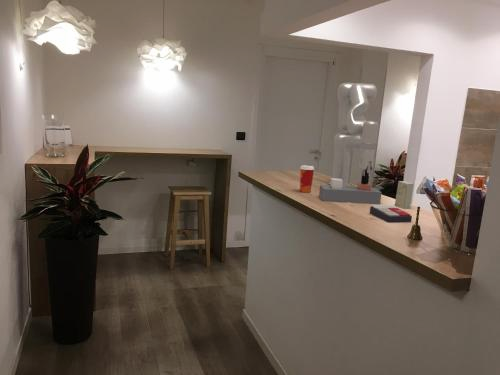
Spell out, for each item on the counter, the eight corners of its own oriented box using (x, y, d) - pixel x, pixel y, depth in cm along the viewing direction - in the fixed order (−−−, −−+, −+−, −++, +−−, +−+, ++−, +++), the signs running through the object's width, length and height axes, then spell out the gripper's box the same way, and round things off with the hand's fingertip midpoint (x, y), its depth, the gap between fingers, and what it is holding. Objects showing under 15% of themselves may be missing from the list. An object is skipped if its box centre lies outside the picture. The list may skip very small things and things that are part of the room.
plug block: (319, 196, 215) (320, 184, 214) (372, 199, 215) (374, 187, 214) (323, 201, 203) (324, 189, 202) (380, 204, 203) (381, 192, 202)
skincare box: (394, 205, 203) (397, 181, 200) (401, 205, 204) (404, 180, 202) (403, 208, 197) (406, 183, 195) (410, 208, 199) (414, 183, 196)
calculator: (389, 214, 169) (370, 204, 183) (387, 224, 170) (369, 213, 184) (412, 214, 171) (392, 204, 185) (411, 224, 172) (391, 213, 186)
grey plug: (329, 191, 211) (330, 178, 210) (339, 192, 211) (340, 178, 210) (331, 193, 206) (332, 179, 205) (341, 194, 206) (342, 180, 205)
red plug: (356, 195, 211) (358, 182, 210) (366, 196, 211) (368, 182, 210) (359, 198, 206) (360, 184, 205) (369, 198, 206) (370, 184, 205)
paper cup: (301, 190, 229) (303, 164, 226) (314, 192, 225) (316, 166, 223) (295, 192, 222) (297, 166, 220) (308, 194, 218) (311, 167, 216)
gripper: (357, 145, 211) (353, 180, 215) (365, 147, 197) (361, 185, 200) (371, 146, 212) (367, 181, 215) (380, 148, 197) (376, 186, 200)
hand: (364, 183), depth 207 cm, fingers closed
